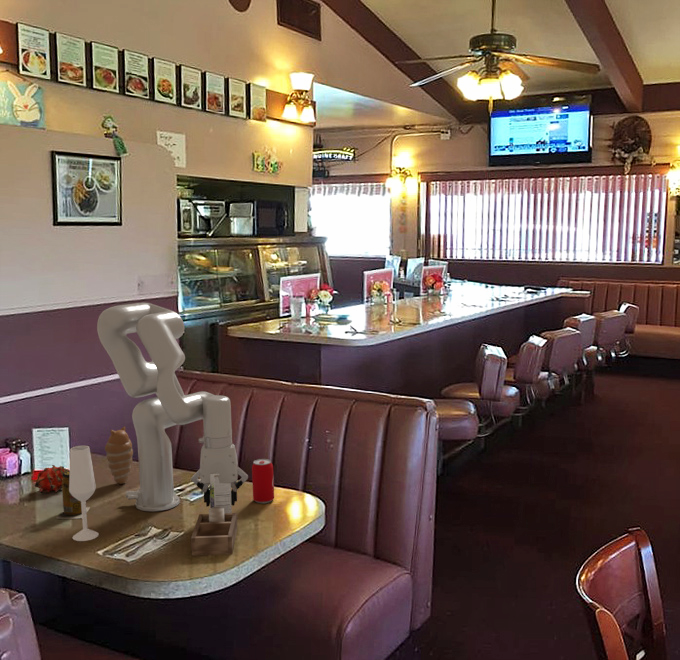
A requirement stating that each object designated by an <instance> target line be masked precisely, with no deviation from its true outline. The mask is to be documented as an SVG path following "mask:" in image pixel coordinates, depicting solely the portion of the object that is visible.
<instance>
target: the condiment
mask: <svg viewBox="0 0 680 660" xmlns="http://www.w3.org/2000/svg"><path fill="white" fill-rule="evenodd" d="M69 478H70V469H69V470H68V471H66V472H64V473H63V482H62V488H61V489H62V490H61V491H62V493H61V494H62V506H63V507H62V508H63V510H61V512H60V513H59V514H58V515H57V516H56V518H55V519H58V520H59V519H61V520H64V519H65V520H72V519H82V508H81V501H79V500H77V499H76V498H74V497H73V496H72V495H71V493H70V492H69ZM90 508H91V506H89V507H88V506H86V513H88V512H89V510H90Z"/></svg>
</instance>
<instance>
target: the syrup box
mask: <svg viewBox="0 0 680 660" xmlns="http://www.w3.org/2000/svg"><path fill="white" fill-rule="evenodd" d="M218 475H219V474H217V473H211V474H210V484H209V490H210V505H209V509H210V508H212V507H223V508H224V513H233V511H232V507H233V506H232V505H231V490H232V487H231V483H220V482H219V479H218V477H219V476H218Z"/></svg>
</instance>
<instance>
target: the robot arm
mask: <svg viewBox="0 0 680 660" xmlns="http://www.w3.org/2000/svg"><path fill="white" fill-rule="evenodd" d="M97 319H98V320H97V323H96V324H97V325H96V330H97V334H98V335H97V336H98V339H99V342H100V343H101V346H103V348H104V350H105V351H106V352H107V354H108V356H109V358H110V360H111V361H112V364H113V367H114V368H115V370H116V373H117V375H118V378H119V379H120V382H121V384H122V386H123V389H124V391H125V392H126V394H127V395H128V396H129V397H131V398H136V399H138V398H143V397H146V396H150V395H151V396H152V395H154V394H155V395H156V396H154V397H150V398H148V399H147V398H146V399H144V400H143V401H142V400H141V401H140V402H138V403H137V404H136V405H135V407H134V408H133V410H132V414H131V416H132V418H131V419H132V423H133V427H134V430H135V435H136V441H137V442H136V443H137V454H138V455H137V456H138V473H139V474H138V475H139V477H138V478H139V489H136V490H134V491H133V490H126V491H125V498H126V499H128V500H136V501H135V507H136V509H137V510H140V511H144V512H163V511H166V510H170V509H173V508H175V507H177V506H178V505H179V504H180V503H181V502H180V496H178V495H176V494H175V491H174V490H175V489H174V473H173V472H174V470H173V469H174V468H173V451H172V450H173V449H172V442H171V440H170V439H171V438H169V436H168V435H167V433H166V429H168V428H170V427H173V426H177V425H179V426H185V425H187V424H190V423H194V422H196V421H200V420H202V421H203V436H202V437H199V438H198V443H201V444H203V445H202V447H201V450H200V460H199V462H200V463H199V469H198V470H197V471H196V472H195V473H194V474H193V475H192V476H191V479H190V481H191V482H192V483H193V484H195V485H196V486H197V488H199V489H200V490H201V492H202V493H203V503H206V504H205V505H206V507H210V474H211V473H217V474H219V475H218V476H219V477H218V479H219V482H220V483H231V506H232V507H233V506H235V505H236V504H235V503H236V502H238V490H239V488H241V486H242V485H243V484H244V483H245V482H246V481H247V480H248V479H249V475H248V474H247V473H246V472H245V471H244V470H243V469H241V468H240V467H239V463H238V455H237V450H236V445H235V444H234V443H233V427H232V407H231V405H232V404H231V403H232V402H231V399H230V398H229V397H228V396H225V395H216V394H213V393H210V392H207V391H197V392H194V393H189V394H186V395H185V392H184V391H183V388H182V386H181V384H180V382H179V380H178V377H177V375H176V370H177V369H179V368H180V367H181V366H182V365H183V364H184V362H185V360H186V356H185V355H186V354H185V352H183V350H182V348H181V347H180V345H179V343H178V341H177V340H178V339H180V338H181V337H182V336H183V334H184V332H185V323H184V321H183V318H182V317H181V316H180V315H179V314H178V313H177V312H176V311H173V310H171V309H169V308H166V307H163V306H159V305H156V304H154V303H151V302H136V303H127V304H119V305H115V306H111V307H108V308H106V309H104V310H103V311H102V312H101V313H100V314H99V316H98V318H97ZM133 333H136V334H137V335H138V338H139V339H140V341H141V343H142V345H143V346H144V348H145V350H146V352H147V353H148V356H149V358H150V359H151V361H146V360H145V357H144V356H143V353H142V351H141V349H140V347H139V346H138V345H137V344H136V343H135V342H134V341H133V340H132V339H130V338H129V337H128V336H127V335H128V334H133ZM239 476H240V477H241V478H240V479H238V478H239ZM199 478H200V479H199Z"/></svg>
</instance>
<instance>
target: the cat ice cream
mask: <svg viewBox="0 0 680 660" xmlns="http://www.w3.org/2000/svg"><path fill="white" fill-rule="evenodd" d="M129 437H130V436H129V435H128V433H127V432H126V426H123V427H121V428H120V429H117V430H114V429H111V430H110V435H109V437H108V440H107V442H106V444H105V446H104V451H105V452H106V456H105V457H106V460H107V461H108V468H109V469H110V472H111V475H112V476H113V479H114V481H115V483H116V484H120V485H123V484H126V483H127V481H128V480H129V474H130V472H131V468H132V463H133V455H134V449H133V443H132V440H131V439H130V438H129Z"/></svg>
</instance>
